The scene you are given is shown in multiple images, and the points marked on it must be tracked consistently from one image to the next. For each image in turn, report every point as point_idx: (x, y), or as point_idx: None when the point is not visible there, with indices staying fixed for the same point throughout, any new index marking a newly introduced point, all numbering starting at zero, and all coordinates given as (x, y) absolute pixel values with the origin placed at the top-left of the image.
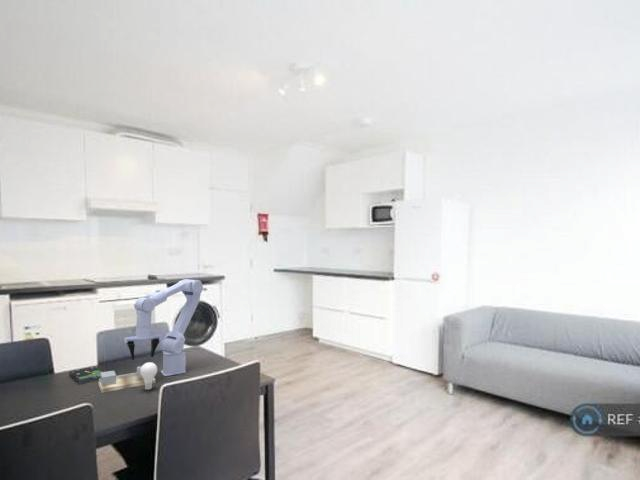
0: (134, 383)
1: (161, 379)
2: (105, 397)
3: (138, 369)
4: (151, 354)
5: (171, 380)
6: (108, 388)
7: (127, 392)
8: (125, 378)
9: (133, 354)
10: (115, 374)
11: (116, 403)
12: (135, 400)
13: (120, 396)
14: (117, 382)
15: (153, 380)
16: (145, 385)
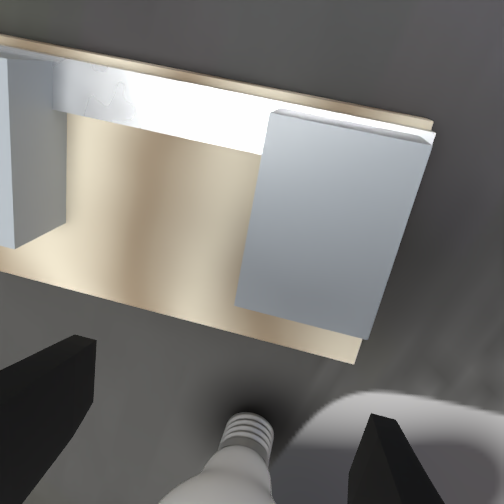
0: (187, 319)
1: (438, 310)
2: (6, 341)
3: (249, 223)
4: (359, 483)
5: (481, 391)
6: (12, 270)
7: (129, 364)
8: (159, 142)
9: (28, 479)
10: (11, 222)
11: None
12: (136, 494)
13: None
14: (80, 201)
15: (337, 356)
16: (221, 448)
